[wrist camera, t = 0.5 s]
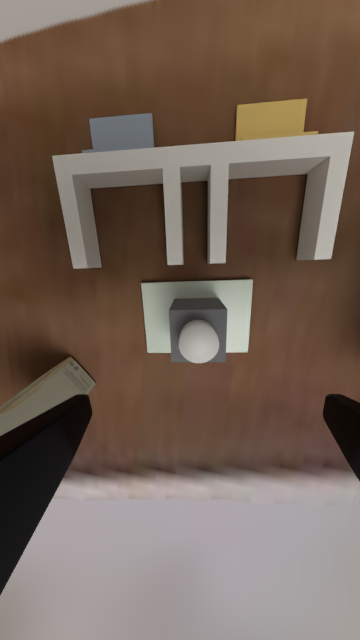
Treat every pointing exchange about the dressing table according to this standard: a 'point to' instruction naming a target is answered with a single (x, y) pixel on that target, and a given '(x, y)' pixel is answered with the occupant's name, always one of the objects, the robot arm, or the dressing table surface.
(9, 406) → the skincare box
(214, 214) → the socket board
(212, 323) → the plug
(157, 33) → the dressing table surface
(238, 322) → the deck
